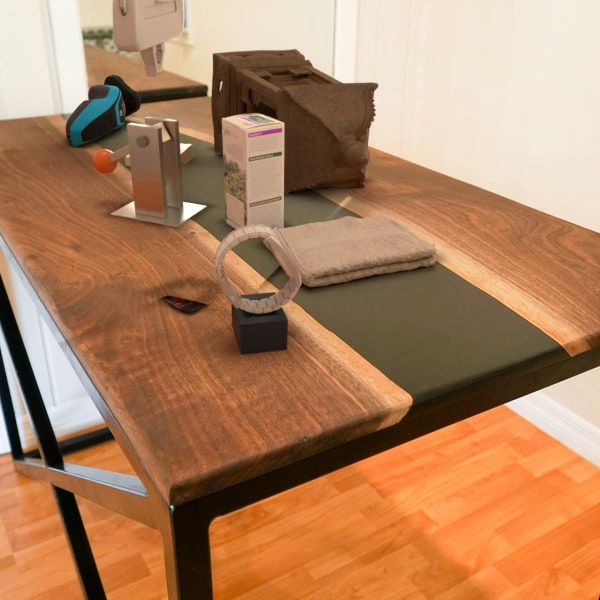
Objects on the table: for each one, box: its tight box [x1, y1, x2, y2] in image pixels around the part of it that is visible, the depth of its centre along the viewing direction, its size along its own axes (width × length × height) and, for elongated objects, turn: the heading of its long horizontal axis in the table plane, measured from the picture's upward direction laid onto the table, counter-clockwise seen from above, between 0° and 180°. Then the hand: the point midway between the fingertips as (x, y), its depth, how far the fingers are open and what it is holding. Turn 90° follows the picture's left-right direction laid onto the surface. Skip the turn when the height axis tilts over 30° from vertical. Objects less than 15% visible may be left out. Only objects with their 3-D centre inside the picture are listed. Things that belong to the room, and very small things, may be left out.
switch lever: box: [91, 122, 171, 175], centre depth 85 cm, size 12×3×3 cm, turn 69°
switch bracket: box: [110, 115, 208, 229], centre depth 85 cm, size 10×8×13 cm
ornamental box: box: [210, 48, 379, 196], centre depth 101 cm, size 35×18×18 cm, turn 27°
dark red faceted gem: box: [157, 294, 208, 313], centre depth 68 cm, size 5×5×1 cm
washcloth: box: [262, 215, 437, 288], centre depth 78 cm, size 12×18×3 cm, turn 116°
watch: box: [213, 224, 304, 355], centre depth 60 cm, size 6×8×11 cm
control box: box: [124, 142, 194, 167], centre depth 108 cm, size 10×8×4 cm
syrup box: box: [222, 113, 285, 230], centre depth 81 cm, size 6×6×14 cm
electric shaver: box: [65, 74, 142, 148], centre depth 124 cm, size 9×26×10 cm
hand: (154, 74), depth 102 cm, fingers closed
